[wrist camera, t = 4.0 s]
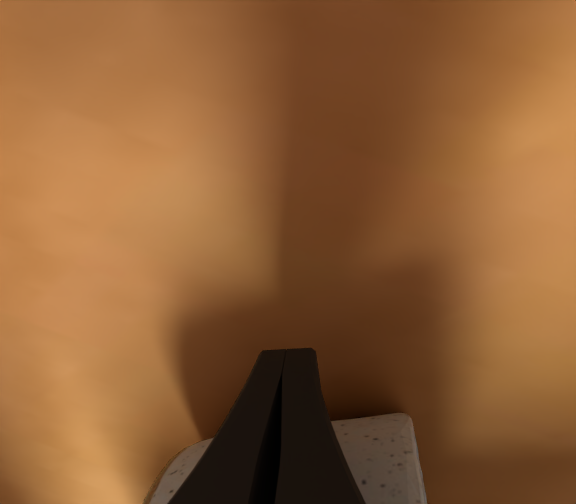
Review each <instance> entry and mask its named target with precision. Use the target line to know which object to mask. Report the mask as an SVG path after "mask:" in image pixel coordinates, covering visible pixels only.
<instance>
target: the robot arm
mask: <svg viewBox="0 0 576 504" xmlns="http://www.w3.org/2000/svg"><path fill="white" fill-rule="evenodd" d="M167 504H366V503H365V501H364V498H363V496H362V494H361V492H360V490H359V488H358V486H357V484H356V482H355V479H354V477H353V475H352V473H351V471H350V468H349V466H348V464H347V461H346V459H345V457H344V454H343V452H342V449H341V447H340V444H339V442H338V439H337V437H336V434H335V431H334V429H333V426H332V423H331V420H330V417H329V414H328V411H327V408H326V405H325V402H324V399H323V395H322V392H321V386H320V378H319V371H318V364H317V357H316V351H315V350H313V349H312V348H299V349H287V350H286V349H281V350H263V351H262V352H261V353H260V354H259V356H258V358H257V361H256V363H255V365H254V367H253V369H252V371H251V373H250V375H249V377H248V379H247V381H246V383H245V385H244V387H243V389H242V391H241V393H240V394H239V396H238V398H237V400H236V401H235V403H234V405H233V407H232V408H231V410H230V412H229V414H228V415H227V417H226V419H225V421H224V422H223V424H222V426H221V427H220V429H219V430H218V432H217V433H216V435H215V437H214V438H213V440H212V441H211V443H210V444H209V446H208V447H207V449H206V451H205V452H204V454H203V455H202V457H201V458H200V460H199V461H198V462H197V464H196V465H195V467H194V468H193V470H192V471H191V472H190V474H189V475H188V477H187V478H186V479H185V481H184V482H183V483H182V485H181V486H180V487H179V489H178V490H177V491H176V493H175V494H174V495H173V497H172V498H171V499H170V501H169V502H168V503H167Z"/></svg>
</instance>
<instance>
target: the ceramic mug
mask: <svg viewBox="0 0 576 504" xmlns="http://www.w3.org/2000/svg"><path fill="white" fill-rule="evenodd" d="M331 423H332V426H333V429H334V431H335V434H336V437H337V439H338V442H339V444H340V447H341V449H342V452H343V454H344V457H345V459H346V461H347V464H348V466H349V468H350V471H351V473H352V475H353V477H354V479H355V482H356V484H357V486H358V488H359V490H360V492H361V494H362V496H363V498H364V501H365V503H366V504H427V499H426V493H425V487H424V481H423V474H422V471H421V467H420V462H419V455H418V447H417V443H416V438H415V433H414V427H413V422H412V419H411V417H410V416H409V415H408V414H406V413H393V414H386V415H379V416H371V417H364V418H355V419H346V420H337V421H331ZM212 440H213V438H211V439H207V440H204V441H200V442H198V443H196V444H193V445H191V446H189V447H187V448H184V449H183V450H182V451H180V452H179V453H178V454H177V455H175V456H174V457H173V458H172V459H170V461H169V462H168V463H167V465H166V466H165V467H164V469H163V470H162V471H161V473H160V474H159V475H158V477H157V478H156V480H155V481H154V483H153V484H152V486H151V488H150V490H149V492H148V494H147V496H146V497H145V499H144V502H143V504H167V503H168V502H169V501H170V499H171V498H172V497H173V495H174V494H175V493H176V491H177V490H178V489H179V487H180V486H181V485H182V483H183V482H184V481H185V479H186V478H187V477H188V475H189V474H190V472H191V471H192V470H193V468H194V467H195V465H196V464H197V462H198V461H199V460H200V458H201V457H202V455H203V454H204V452H205V451H206V449H207V447H208V446H209V444H210V443H211V441H212Z"/></svg>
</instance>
